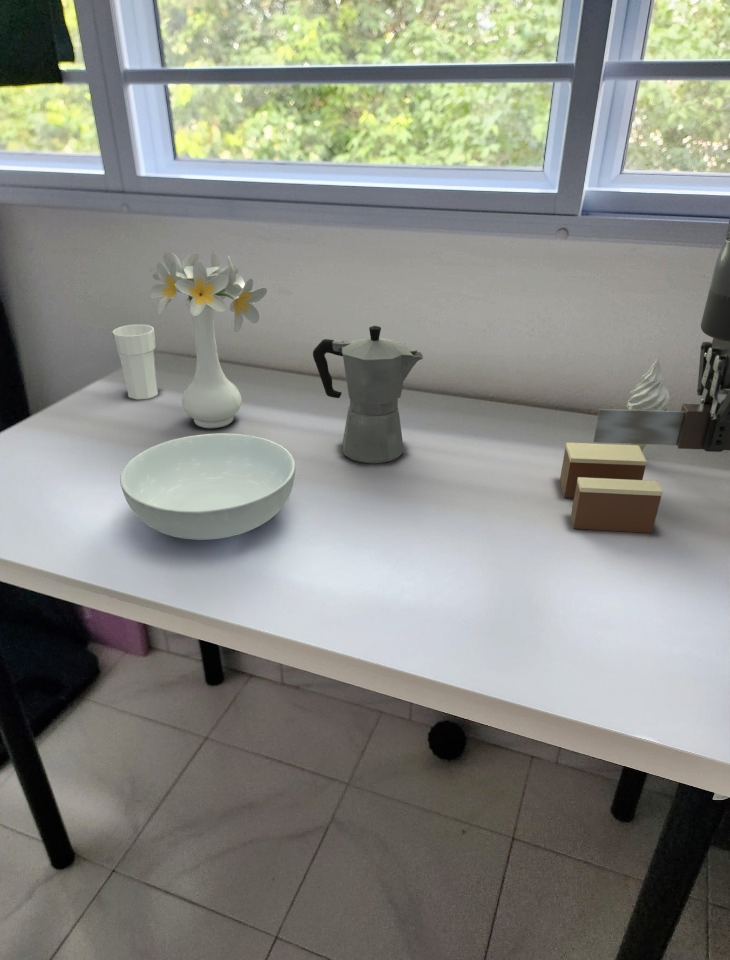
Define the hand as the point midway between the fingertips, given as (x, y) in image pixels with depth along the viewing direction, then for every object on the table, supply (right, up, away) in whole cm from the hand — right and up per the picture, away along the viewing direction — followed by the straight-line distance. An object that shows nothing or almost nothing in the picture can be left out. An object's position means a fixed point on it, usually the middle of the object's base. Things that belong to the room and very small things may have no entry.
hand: (708, 444), depth 84 cm
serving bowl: (-57, -8, +9) cm, 58 cm away
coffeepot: (-37, +2, +25) cm, 45 cm away
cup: (-74, +14, +45) cm, 88 cm away
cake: (-8, -4, +13) cm, 16 cm away
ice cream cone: (0, 0, +20) cm, 20 cm away
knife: (-4, 0, +1) cm, 5 cm away
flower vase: (-60, +8, +34) cm, 69 cm away
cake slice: (-9, -9, +6) cm, 14 cm away
